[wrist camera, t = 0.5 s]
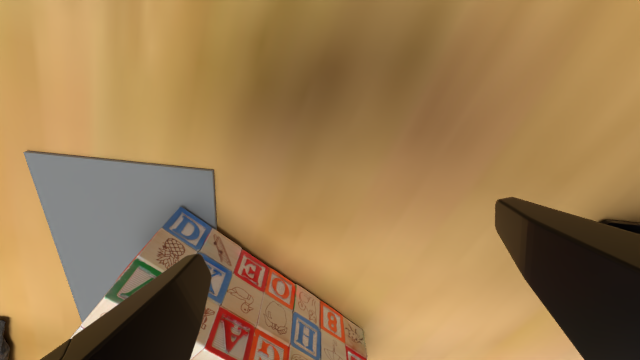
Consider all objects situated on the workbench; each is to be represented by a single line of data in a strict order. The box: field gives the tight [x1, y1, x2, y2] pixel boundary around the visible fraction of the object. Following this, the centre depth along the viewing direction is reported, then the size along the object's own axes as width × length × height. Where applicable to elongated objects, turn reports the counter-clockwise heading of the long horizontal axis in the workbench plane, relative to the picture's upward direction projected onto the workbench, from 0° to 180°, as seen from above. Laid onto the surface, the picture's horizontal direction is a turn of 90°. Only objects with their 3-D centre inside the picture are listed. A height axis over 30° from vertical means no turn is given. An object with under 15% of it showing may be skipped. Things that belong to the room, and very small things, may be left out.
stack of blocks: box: [70, 207, 367, 360], centre depth 22 cm, size 21×6×12 cm, turn 47°
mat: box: [24, 151, 217, 323], centre depth 27 cm, size 14×24×1 cm, turn 174°
